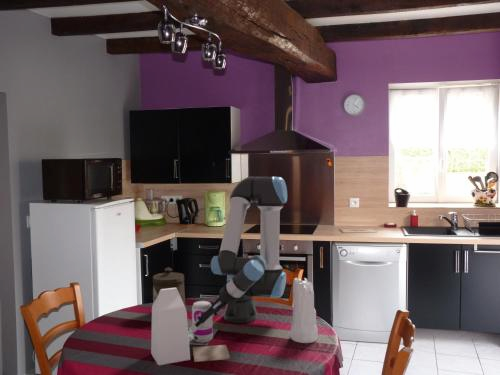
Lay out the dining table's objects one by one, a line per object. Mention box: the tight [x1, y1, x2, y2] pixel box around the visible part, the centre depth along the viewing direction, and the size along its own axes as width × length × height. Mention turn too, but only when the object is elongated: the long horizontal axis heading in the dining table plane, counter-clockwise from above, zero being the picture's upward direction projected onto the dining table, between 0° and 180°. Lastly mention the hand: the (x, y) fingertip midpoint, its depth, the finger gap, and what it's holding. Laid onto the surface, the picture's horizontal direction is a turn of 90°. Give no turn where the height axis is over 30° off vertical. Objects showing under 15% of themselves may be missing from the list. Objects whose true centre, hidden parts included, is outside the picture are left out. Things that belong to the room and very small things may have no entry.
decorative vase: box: [290, 277, 319, 344], centre depth 213 cm, size 11×11×25 cm
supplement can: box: [191, 300, 214, 344], centre depth 213 cm, size 8×8×15 cm
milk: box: [150, 288, 191, 366], centre depth 196 cm, size 12×12×26 cm
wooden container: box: [152, 266, 186, 307], centre depth 246 cm, size 15×15×22 cm
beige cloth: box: [192, 344, 231, 363], centre depth 199 cm, size 13×12×1 cm
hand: (197, 326), depth 214 cm, fingers closed on supplement can, 8 cm apart
